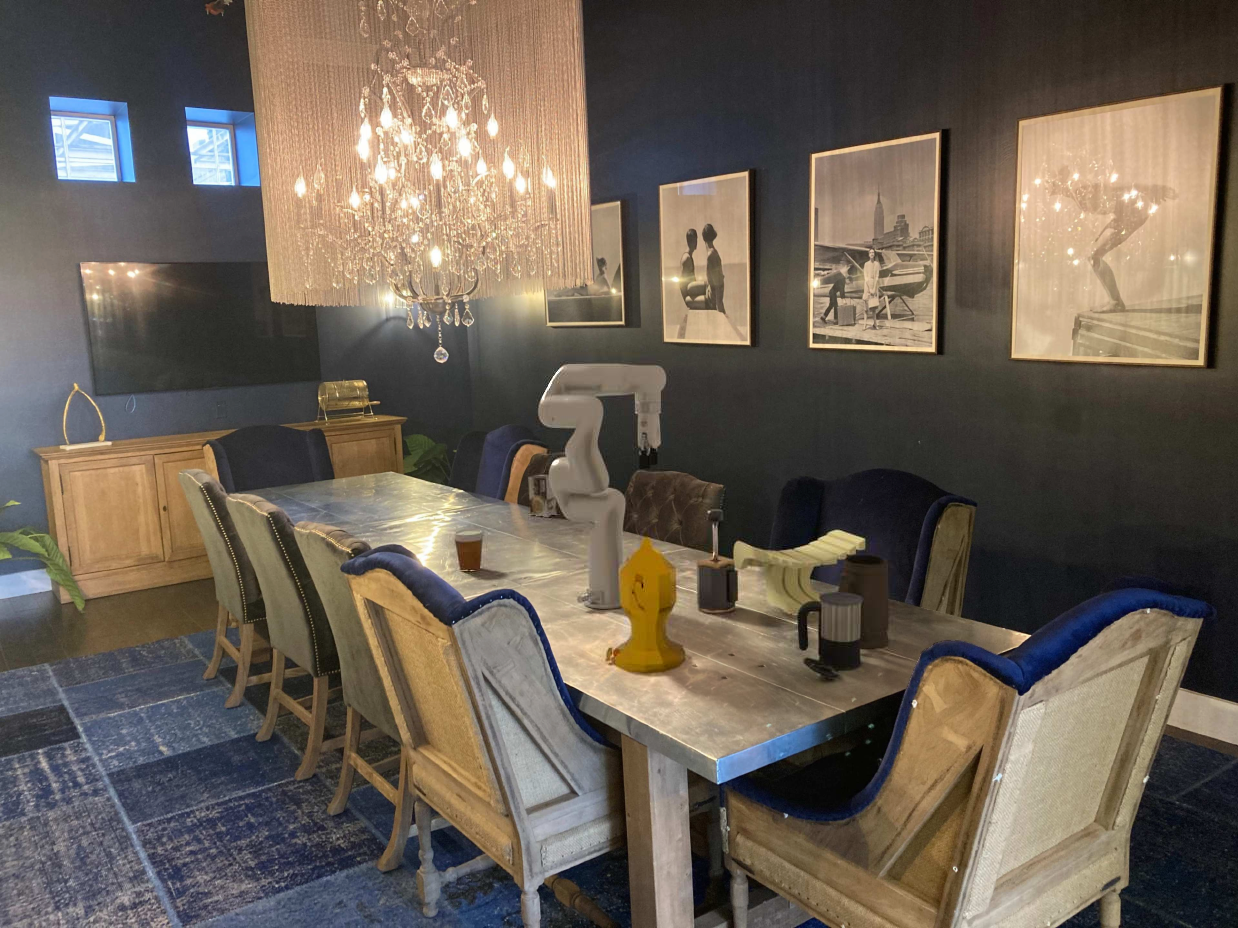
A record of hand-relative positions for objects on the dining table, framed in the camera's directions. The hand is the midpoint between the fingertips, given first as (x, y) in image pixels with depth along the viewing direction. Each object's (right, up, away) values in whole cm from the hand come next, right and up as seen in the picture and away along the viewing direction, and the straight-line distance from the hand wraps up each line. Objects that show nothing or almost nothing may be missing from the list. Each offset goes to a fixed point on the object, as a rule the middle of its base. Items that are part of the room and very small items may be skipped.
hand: (648, 466), depth 281 cm
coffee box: (-39, -20, +105) cm, 114 cm away
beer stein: (+47, -41, -60) cm, 87 cm away
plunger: (+16, -26, -31) cm, 44 cm away
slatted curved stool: (+39, -37, -28) cm, 60 cm away
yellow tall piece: (-3, -43, -66) cm, 79 cm away
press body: (+17, -37, -30) cm, 50 cm away
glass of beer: (-55, -33, +20) cm, 67 cm away
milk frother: (+37, -43, -76) cm, 95 cm away
